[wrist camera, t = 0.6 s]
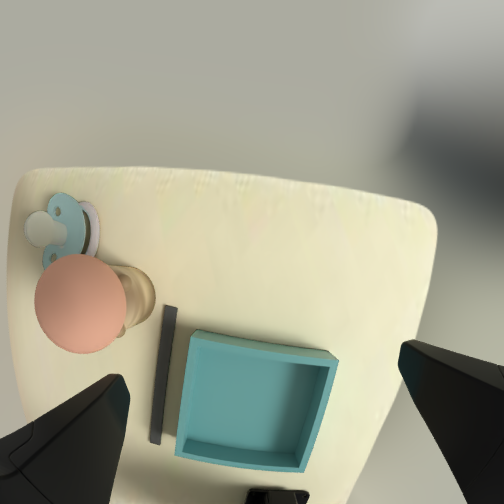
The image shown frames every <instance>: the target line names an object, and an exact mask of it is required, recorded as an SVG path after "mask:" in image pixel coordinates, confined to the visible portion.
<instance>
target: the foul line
mask: <svg viewBox="0 0 504 504" xmlns="http://www.w3.org/2000/svg"><path fill="white" fill-rule="evenodd" d="M177 309H178V308H175V307H171V306H167V305H166V307H165V313H164V319H163V326H162V332H161V339H160V347H159V354H158V362H157V370H156V379H155V388H154V398H153V409H152V421H151V435H150V443H153V444H157V445H160V444H161V432H162V421H163V411H164V402H165V393H166V385H167V377H168V369H169V361H170V354H171V347H172V340H173V334H174V327H175V321H176V315H177Z"/></svg>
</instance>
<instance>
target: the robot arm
mask: <svg viewBox="0 0 504 504" xmlns="http://www.w3.org/2000/svg"><path fill="white" fill-rule="evenodd" d="M398 368H399V371H400V373H401V375H402V377H403V379H404V381H405V384H406V386H407V388H408V391H409V393H410V395H411V397H412V399H413V402H414V403H415V405H416V407H417V409H418V411H419V412H420V414H421V416H422V418H423V419H424V421H425V423H426V425H427V426H428V428H429V430H430V432H431V433H432V435H433V437H434V439H435V441H436V443H437V444H438V446H439V448H440V450H441V452H442V454H443V456H444V457H445V459H446V461H447V463H448V465H449V467H450V469H451V471H452V473H453V475H454V477H455V479H456V481H457V483H458V485H459V487H460V489H461V491H462V493H463V495H464V497H465V500H466V502H467V504H504V366H501V365H497V364H494V363H490V362H487V361H483V360H480V359H476V358H473V357H469V356H466V355H463V354H459V353H456V352H453V351H449V350H446V349H443V348H439V347H436V346H433V345H430V344H427V343H424V342H420V341H417V340H414V339H412V340H408V341H405V342H403V343H402V345H401V349H400V354H399V359H398ZM129 405H130V394H129V391H128V388H127V386H126V383H125V381H124V378H123V376H122V375H120V374H108V375H107V376H105V377H103V378H102V379H100V380H99V381H97V382H96V383H94V384H92V385H91V386H89V387H88V388H86V389H84V390H83V391H81V392H80V393H78V394H76V395H75V396H73V397H72V398H70V399H68V400H67V401H65V402H64V403H62V404H60V405H59V406H57V407H55V408H54V409H52V410H50V411H49V412H47V413H46V414H44V415H42V416H41V417H39V418H37V419H36V420H34V422H33V421H32V422H30V423H29V424H27V425H26V426H24V427H22V428H20V429H18V430H17V431H15V432H13V433H11V434H9V435H7V436H5V437H3V438H1V439H0V504H109V502H110V497H111V492H112V488H113V483H114V479H115V474H116V470H117V466H118V462H119V458H120V454H121V450H122V446H123V442H124V438H125V432H126V425H127V418H128V411H129ZM304 495H305V496H304ZM309 496H310V494H309V492H307V491H276V490H261V489H250V490H248V493H247V496H246V499H245V502H244V504H306V503H307V501H308V499H309Z"/></svg>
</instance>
